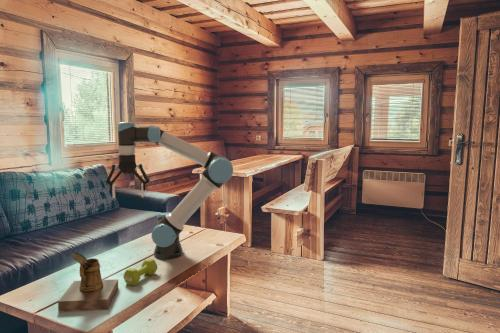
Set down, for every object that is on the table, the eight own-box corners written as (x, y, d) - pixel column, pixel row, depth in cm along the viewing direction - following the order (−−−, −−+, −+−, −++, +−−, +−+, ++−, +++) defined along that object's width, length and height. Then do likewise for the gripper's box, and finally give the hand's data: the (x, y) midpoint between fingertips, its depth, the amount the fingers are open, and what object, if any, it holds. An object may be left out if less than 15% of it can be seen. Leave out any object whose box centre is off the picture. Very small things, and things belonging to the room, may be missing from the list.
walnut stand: (118, 288, 160) (118, 279, 160) (107, 309, 143) (107, 299, 142) (74, 290, 158) (74, 281, 158) (58, 311, 140) (57, 301, 140)
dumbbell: (136, 288, 161) (135, 272, 160) (121, 284, 164) (121, 269, 163) (159, 274, 176) (159, 259, 175) (145, 271, 179) (145, 256, 178)
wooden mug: (66, 295, 145) (64, 251, 142) (89, 281, 157) (88, 240, 155) (85, 298, 142) (83, 253, 140) (107, 284, 155) (106, 242, 153)
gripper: (154, 153, 185) (155, 195, 188) (101, 153, 181) (103, 196, 184) (152, 154, 178) (153, 198, 180) (98, 155, 174) (99, 199, 176)
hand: (128, 197), depth 182 cm, fingers open, 13 cm apart
